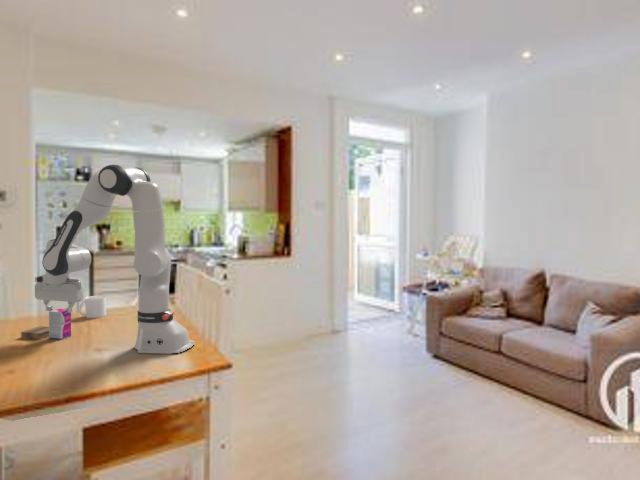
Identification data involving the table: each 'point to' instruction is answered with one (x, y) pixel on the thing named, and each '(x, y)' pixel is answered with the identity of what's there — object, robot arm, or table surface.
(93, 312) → the mug
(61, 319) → the supplement box
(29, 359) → the table surface
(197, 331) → the table surface
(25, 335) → the base slab
